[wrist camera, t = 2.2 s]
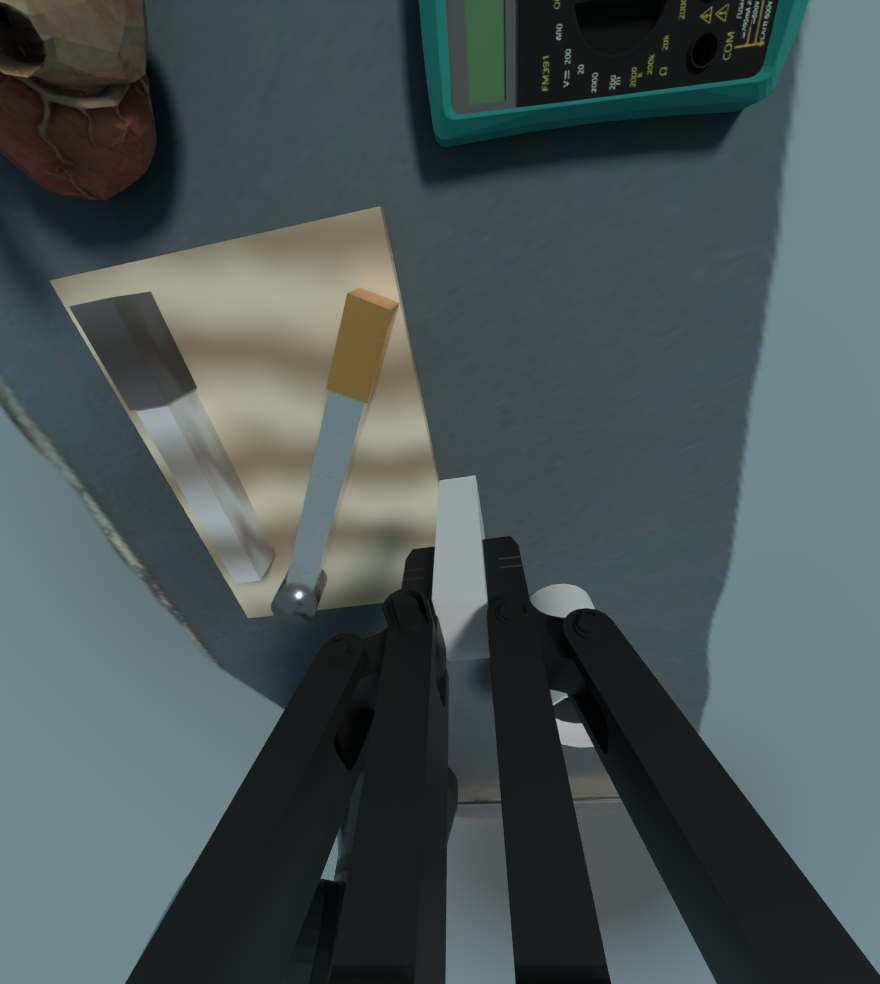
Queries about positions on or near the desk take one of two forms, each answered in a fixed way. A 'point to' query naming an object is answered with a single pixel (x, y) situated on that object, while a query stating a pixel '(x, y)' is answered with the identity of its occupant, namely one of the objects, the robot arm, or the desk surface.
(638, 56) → the digital multimeter
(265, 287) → the board
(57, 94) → the anatomical model
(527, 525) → the desk surface
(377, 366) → the bar
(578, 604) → the white coffee cup
